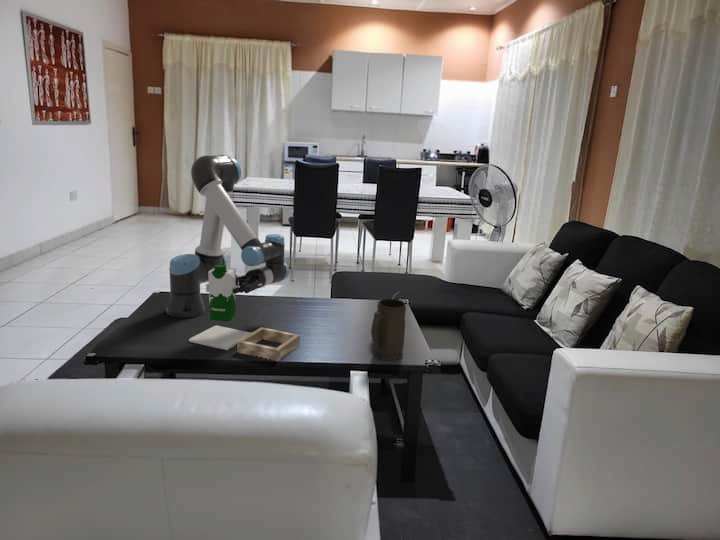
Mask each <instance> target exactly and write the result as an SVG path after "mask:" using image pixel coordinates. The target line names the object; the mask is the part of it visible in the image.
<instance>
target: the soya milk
mask: <svg viewBox="0 0 720 540" xmlns="http://www.w3.org/2000/svg"><path fill="white" fill-rule="evenodd" d="M236 275H237V268H236V267H227V266H226V265H223V264H218V265H215V266H214V268H213V269H212V270H210V271H209V272H208V277H209V281H208V284H209V292H208V303H209V304H208V305H209V306H208V307H209V308H208V309H209V310H208V311H209V320H210V321H218V322H228V323H229V322H230V321H231V320H233V318H234V317H235V316H236V302H237V301H236V300H237V299H236V298H237V296H236V295H237V293H236V294H233V287H234V286H236ZM227 288H230V294H231V295H230V296H227V297H225V296H224V289H227Z"/></svg>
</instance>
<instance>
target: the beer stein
mask: <svg viewBox="0 0 720 540" xmlns="http://www.w3.org/2000/svg"><path fill="white" fill-rule="evenodd" d="M376 308H377V309H378V312H377V311H375V312H374V313H373V315H374V316H373V321H372V323H371V329H370V333H371V335H370V336H371V338H372V339H371V340H372V345H373V347H372V348H371V353H372V355H373V356H374V357H375V358H376V357H377V359H379V360H381V359H383V360H382V361H387V360H394V361H398V360H397V359H399V360H400V358H401V359H402V358H403V357H402V356H404V351H403V349H404V345H405V334H406V333H405V331H406V313H405V311H406V312H407V305H406V302H404V301H402V300H399V299H395V298H393V299H392V298H386V299H381V300H379V301H378V303H377V306H376ZM377 309H376V310H377Z"/></svg>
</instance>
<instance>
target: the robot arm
mask: <svg viewBox="0 0 720 540" xmlns="http://www.w3.org/2000/svg"><path fill="white" fill-rule="evenodd" d="M190 175H191V176H190V177H191V179H192V183H193V185H194V187H195V188H196V190H197V192H198V193H199V194H200V196H204V197H205V199H206V200H205V206H204V212H203V219H202V227H201V232H200V233H201V234H200V235H201V236H200V240H199V241H200V242H199V245H197V246H196V247H195V250H194V254H193V253H184V254H179V255H176V256H174V257H173V258H171V259H170V261H169V269H168V270H169V285H170V288H169V289H170V293H169V298H168V301H167V305H166V309H165V311H166V314H167V316H169V317H172V318H180V319H185V318H186V319H187V318H189V319H190V318H194V317H199V316H202V315H204V313H205V311H206V309H205V308H206V306H205V304H204V301H203V297H202V295H201V284H203V283H206V282H209V277H208V272H209V271H210V270H212V269H213V268H214V266H215V265H218V264H223V265H226V267H227V259H226V257H225V255H224V251H223V250H222V248H221V246H222V239H223V234H224V226H225V228H226V229H227V231H228V232H229V233H230V235H231V237H232V238H233V239H234V241H235V243H237V245H238V246H239V248H240V250H241V254H240V256H241V261H242V262H243V264H244V265H246V266H248V267H255V266H259V265H262V264H264V263H265V265H264V266H261V267H257V268H254V269H250V270H248V271H247V272H246V274H244V275H241V276H238V274H236V286H234V287H233V294H236V295H237V294H239V293H240V294H242V293H245V294H248V293H251V292H254V291H255V290H257V289H260V288H261V289H262V288H265V286H270V285H272V284H276V283H279V282H282V281H284V280H286V279H287V278H288V277H289V275H290V268H289V266H288V264H287V263H286V262H285V236H284V235H282V234H277V233H271V234H266V236H265V238H264V239H265V240H264V242H261V241H260V239H259V238H258V237H257V235H256V234H255V232H254V231H253V229H252V227H251V226H250V225H249V224H248V222H247V221H246V219H245V218H244V216H243V214H242V213H241V212H240V211H239V209H238V207H237V205H236V204H235V203H234V202H233V199H232V198H231V197H230V196H229V195H231V194H232V193H233V191H234V187H235V184H237V183H238V182H239V181H240V179H241V177H242V168H241V165H240V164H239V162H238V161H237V159H236V158H234V157H232V156H230V155H224V154H219V155H202V156H199V157H198V158H196V160H194V162H193V163H192V165H191V169H190ZM205 292H206V293H209V283H207V284H205ZM230 295H231V294H230V288H227V289H224V296H225V297H227V296H230Z"/></svg>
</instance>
